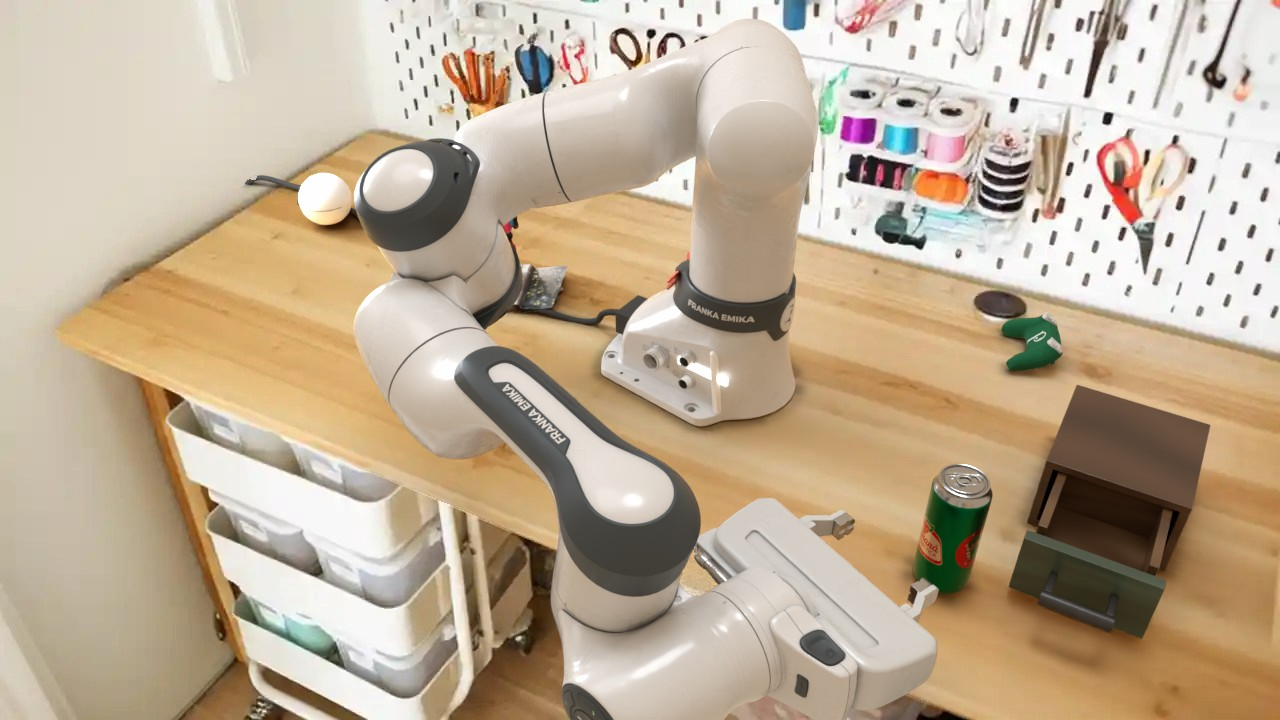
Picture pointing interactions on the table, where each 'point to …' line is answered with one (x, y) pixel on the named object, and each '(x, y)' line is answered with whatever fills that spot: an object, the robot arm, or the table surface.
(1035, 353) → the gaming controller
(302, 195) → the white egg shape
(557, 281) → the statue
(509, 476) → the table surface
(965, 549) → the soda can
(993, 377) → the table surface
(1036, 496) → the cabinet
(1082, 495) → the drawer
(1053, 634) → the table surface
